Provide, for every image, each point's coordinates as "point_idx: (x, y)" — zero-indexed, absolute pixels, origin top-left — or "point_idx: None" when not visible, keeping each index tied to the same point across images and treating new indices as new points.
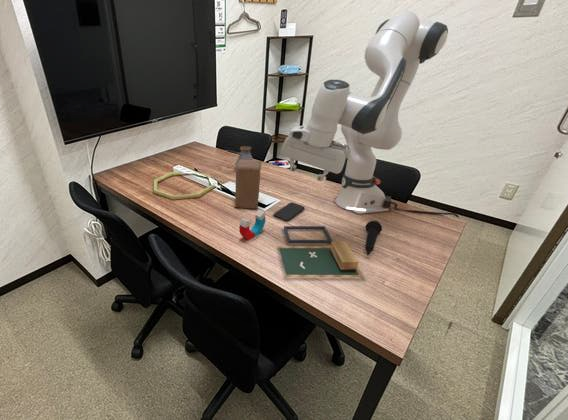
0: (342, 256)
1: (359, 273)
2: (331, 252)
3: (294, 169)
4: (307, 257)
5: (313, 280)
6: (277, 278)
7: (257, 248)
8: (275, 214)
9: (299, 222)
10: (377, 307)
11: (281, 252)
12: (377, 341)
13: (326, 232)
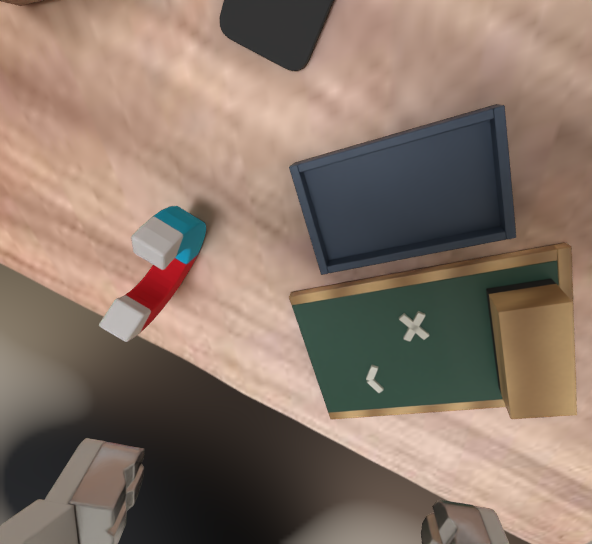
0: (520, 393)
1: None
2: (490, 311)
3: (124, 522)
4: (393, 338)
5: None
6: (308, 412)
7: (224, 303)
8: (228, 26)
9: (366, 56)
10: (570, 475)
11: (303, 327)
12: (526, 539)
13: (500, 172)
